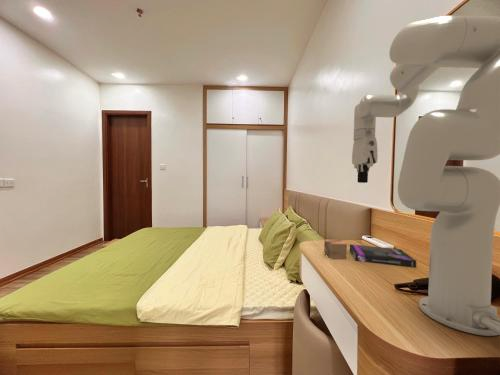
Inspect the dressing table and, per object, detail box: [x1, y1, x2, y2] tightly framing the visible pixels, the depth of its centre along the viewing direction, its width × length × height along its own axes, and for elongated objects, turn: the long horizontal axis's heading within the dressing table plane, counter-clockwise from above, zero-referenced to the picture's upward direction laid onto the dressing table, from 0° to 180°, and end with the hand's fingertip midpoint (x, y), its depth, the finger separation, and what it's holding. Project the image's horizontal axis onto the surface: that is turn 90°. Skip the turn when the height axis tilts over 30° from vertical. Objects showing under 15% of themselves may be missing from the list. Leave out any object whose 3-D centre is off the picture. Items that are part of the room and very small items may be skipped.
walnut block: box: [323, 239, 348, 260], centre depth 86 cm, size 6×6×6 cm
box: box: [349, 244, 418, 269], centre depth 86 cm, size 14×4×20 cm
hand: (362, 182), depth 87 cm, fingers closed
